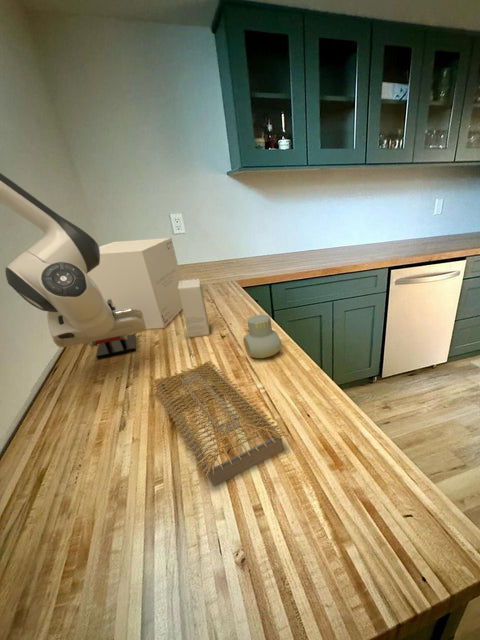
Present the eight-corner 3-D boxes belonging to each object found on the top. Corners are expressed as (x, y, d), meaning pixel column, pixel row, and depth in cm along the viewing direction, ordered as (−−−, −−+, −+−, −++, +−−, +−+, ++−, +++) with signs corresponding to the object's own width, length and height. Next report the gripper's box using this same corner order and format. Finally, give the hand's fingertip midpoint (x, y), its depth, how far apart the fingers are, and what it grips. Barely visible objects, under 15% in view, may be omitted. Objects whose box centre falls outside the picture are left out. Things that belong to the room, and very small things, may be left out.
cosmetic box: (190, 328, 110) (178, 280, 102) (210, 325, 111) (200, 277, 103) (189, 338, 103) (176, 287, 95) (211, 334, 104) (200, 284, 96)
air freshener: (285, 357, 87) (281, 321, 82) (254, 365, 84) (248, 328, 79) (271, 342, 96) (267, 308, 91) (243, 349, 93) (237, 314, 88)
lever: (122, 341, 91) (119, 335, 89) (97, 346, 89) (94, 341, 87) (115, 306, 97) (113, 300, 94) (92, 310, 95) (89, 304, 93)
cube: (164, 327, 112) (141, 250, 99) (102, 331, 113) (72, 255, 100) (187, 303, 133) (171, 237, 121) (135, 306, 134) (113, 241, 122)
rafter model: (153, 394, 76) (145, 370, 73) (213, 372, 83) (208, 350, 80) (210, 493, 50) (201, 463, 47) (290, 451, 57) (287, 422, 54)
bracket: (136, 351, 97) (119, 305, 90) (97, 359, 94) (77, 312, 87) (135, 336, 106) (121, 294, 99) (101, 344, 103) (83, 300, 96)
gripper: (137, 296, 81) (147, 322, 94) (38, 313, 75) (64, 338, 87) (143, 319, 80) (152, 342, 92) (43, 339, 73) (68, 360, 86)
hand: (109, 340), depth 90 cm, fingers closed on lever, 6 cm apart
